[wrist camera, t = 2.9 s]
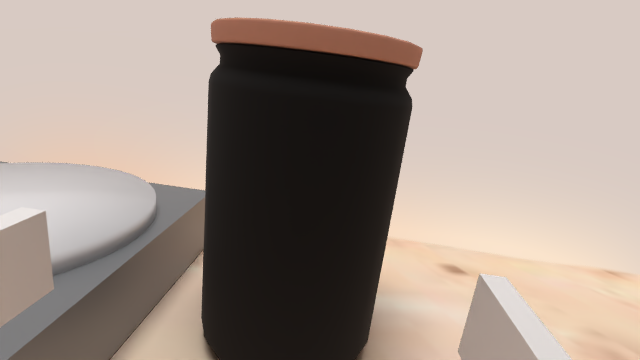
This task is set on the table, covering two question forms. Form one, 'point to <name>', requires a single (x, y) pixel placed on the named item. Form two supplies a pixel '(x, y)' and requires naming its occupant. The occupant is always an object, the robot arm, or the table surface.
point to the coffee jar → (299, 185)
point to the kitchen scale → (98, 255)
